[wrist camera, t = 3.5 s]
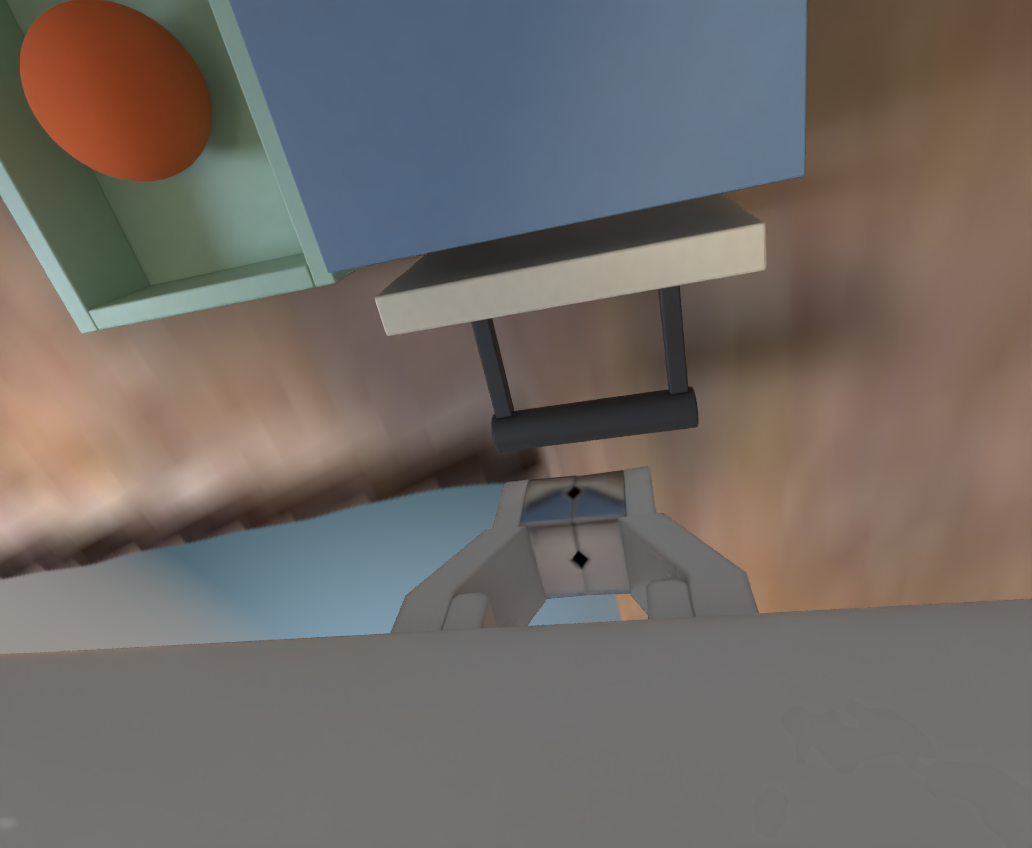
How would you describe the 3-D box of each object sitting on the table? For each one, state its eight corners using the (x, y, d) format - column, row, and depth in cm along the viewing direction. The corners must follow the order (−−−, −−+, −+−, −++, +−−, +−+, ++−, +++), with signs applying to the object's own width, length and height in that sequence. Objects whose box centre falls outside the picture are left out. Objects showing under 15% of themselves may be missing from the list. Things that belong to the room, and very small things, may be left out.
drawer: (727, 375, 22) (770, 461, 17) (474, 411, 25) (439, 497, 19) (693, -285, 14) (755, -531, 9) (319, -146, 16) (182, -274, 11)
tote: (152, 303, 25) (80, 334, 21) (-52, -94, 19) (-198, -140, 15) (376, 257, 23) (336, 283, 19) (227, -209, 17) (130, -293, 13)
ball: (149, 187, 22) (40, 205, 18) (78, 34, 20) (-68, 13, 15) (263, 157, 21) (177, 169, 17) (201, -7, 19) (82, -42, 14)
